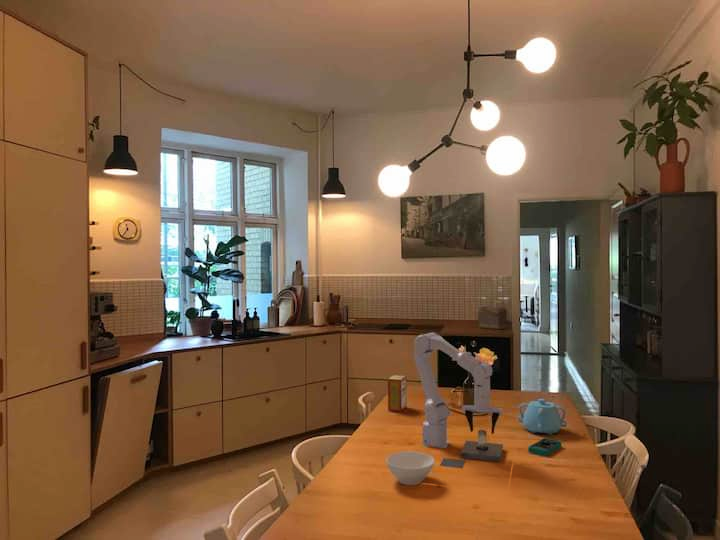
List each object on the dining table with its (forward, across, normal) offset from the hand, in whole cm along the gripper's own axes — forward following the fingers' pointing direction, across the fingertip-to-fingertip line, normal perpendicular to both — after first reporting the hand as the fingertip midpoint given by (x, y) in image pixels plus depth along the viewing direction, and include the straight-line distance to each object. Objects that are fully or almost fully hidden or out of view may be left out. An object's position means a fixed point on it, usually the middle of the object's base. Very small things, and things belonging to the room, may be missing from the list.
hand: (482, 431), depth 202 cm
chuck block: (+9, 0, 0) cm, 9 cm away
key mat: (+9, -9, -13) cm, 18 cm away
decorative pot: (+9, +21, +38) cm, 44 cm away
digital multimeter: (+9, +22, +14) cm, 28 cm away
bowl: (+9, -20, -32) cm, 39 cm away
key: (+9, 0, 0) cm, 9 cm away
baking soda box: (+9, -47, +53) cm, 71 cm away
